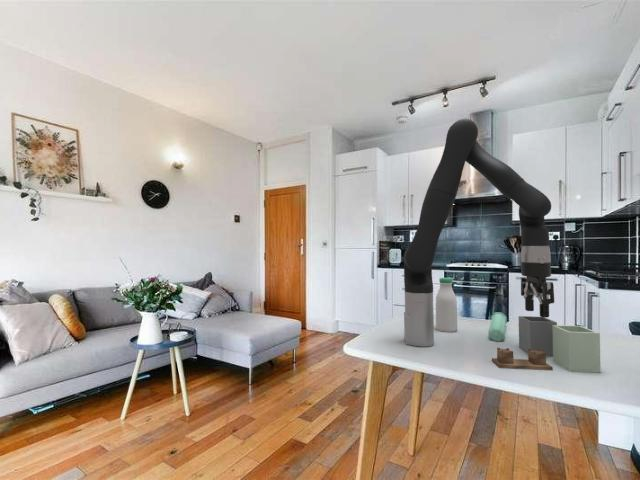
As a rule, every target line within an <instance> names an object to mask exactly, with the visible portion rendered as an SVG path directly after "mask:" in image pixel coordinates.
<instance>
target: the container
mask: <svg viewBox="0 0 640 480" xmlns="http://www.w3.org/2000/svg"><path fill="white" fill-rule="evenodd" d="M490 319H491V320H490V325H489V329H488V337H489V338H490V339H491V340H492V341H495V342H501V341H503V340H504V339H505V334H506V324H507V323H508V317H507V316H506V315H505V314H504V313H503V312H500V311H499V312H494V313H493V314H492V315H491V316H490Z"/></svg>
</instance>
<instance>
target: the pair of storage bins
mask: <svg viewBox="0 0 640 480" xmlns="http://www.w3.org/2000/svg"><path fill="white" fill-rule="evenodd" d="M518 348H519V349H520V350H521V351H523V352H525V353H526V354H528V349H531V350H537V349H540V350H541V351H542V352H545V353H546V357H552V361H553V362H554V363H556V364H558V365H559V366H561V367H562V368H564V369H566V370H567V371H569V372H586V373H601V371H602V369H601V367H602V366H601V334H600V332H597V331H595V330H592V329H589V328H587V327H584V326H582V325H559V324H558V323H557V321H555V320H552V319H550V318H549V317H541V316H527V315H524V316H523V315H519V316H518Z"/></svg>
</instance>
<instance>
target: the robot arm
mask: <svg viewBox="0 0 640 480" xmlns="http://www.w3.org/2000/svg"><path fill="white" fill-rule="evenodd" d="M478 136H479V130H478V126H477V124H476V122H475V121H473V120H472V119H470V118H462V119H458V120H456V121H455V122H454V123H452V125H450V126H449V128H448V130H447V133H446V138H445V144H444V149H443V151H442V156H441V158H440V161H439V162H438V165H437V166H436V167H437V168H436V169H435V172H434V174H433V175H432V178H431V180H430V182H429V184H428V186H427V187H428V188H427V189H426V193H425V195H424V198H423V201H422V205H421V210H420V214H419V215H420V216H419V221H418V225H417V229H416V231H415V234H414V236H413V238H412V240H411V242H410V244H409V246H408V247H407V249H406V250H405V252H404V254H403V275H404V277H403V283H404V284H403V285H404V312H403V319H404V320H403V321H404V322H403V324H404V325H403V326H404V327H403V328H404V329H403V330H404V331H403V332H404V334H403V335H404V341H405V343H406V345H409V346H414V347H425V348H426V347H427V348H428V347H431V346H434V344H435V327H434V326H435V324H434V321H435V319H434V283H433V271H432V269H433V267H432V265H433V263H434V260H435V255H436V251H437V246H438V243H439V239H440V235H441V233H442V231H443V230H444V227H445V224H446V223H447V220H448V218H449V217H450V214H451V212H452V208H453V206H454V204H455V200H456V198H457V194H458V191H459V188H460V184H461V181H462V175H463V171H464V168H465V164H466V163H467V164H469V165H470V166H471V167H473V168H474V169H475V170H476V171H478V173H480V174H481V176H483V177H484V178H485V179H486V180H487V181H488V182H489V183H490V184H491V185H493V186H494V188H495V189H496V190H497V191H498V192H499V193H501V194H502V195H503V196H504V197H505V198H507V199H509V200H512V201H513V202H514V203H516V205H518V218H519V219H518V220H519V225H520V229H521V250H520V270H521V271H520V274H521V275H522V277H521V278H520V295H521V296H522V297H523V298H524V309H525V311H527V312H534V308H535V307H534V305H535V304H534V303H535V302H534V301H535V298H537V299H538V301H539V304H538V305H539V317H545V318H549V317H550V305H551V304H555V289H554V282H553V281H547V278H550V277H551V276H552V258H551V257H552V256H551V249H550V232H549V229H548V228H547V226H546V221H545V220H546V219H545V216H547V215H548V214H549V213H551V210H552V202H551V200H550V198H549V197H548V196H547V195H546V194H544V193H543V192H542V191H541V190H539V189H538V188H536V186H535V187H534V186H533V185H531V184H530V183H528V182H527V181H526V180H525V179H524V178H523V177H522V176H521V175H520V174H519V173H518V172H516V171H515V170H514V169H513V168H512V167H510V165H509V164H507V163H505V162H503V161H501V160H500V159H498V158H496V157H495V156H493V155H491V154H490V153H489V152H487V151H486V150H485V149H484V148H483V146H481V144H480V143H479V142H478V140H477V139H478ZM534 297H535V298H534Z"/></svg>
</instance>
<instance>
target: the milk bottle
mask: <svg viewBox="0 0 640 480" xmlns="http://www.w3.org/2000/svg"><path fill="white" fill-rule="evenodd" d="M452 285H453V278H452V277H451V278H450V277H440V278H439V290H438V292H437V294H436V296H435V329H436V330H437V331H440V332H446V333H453V332H457V331H458V303H457V302H458V301H457V297H456V294H455V292H454V290H453V287H452Z"/></svg>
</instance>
